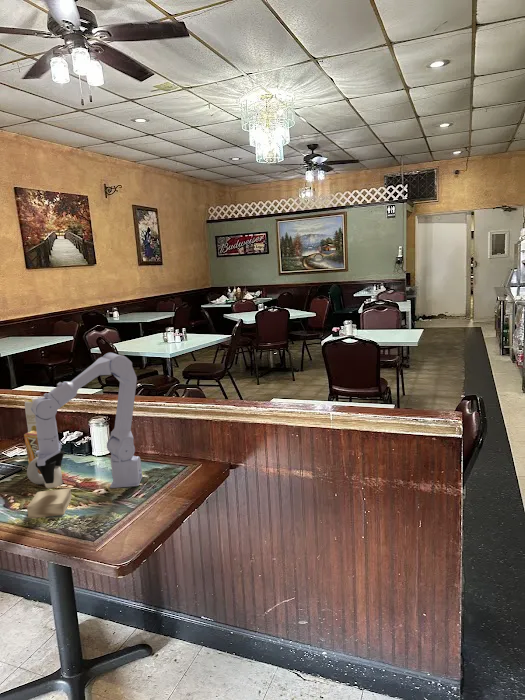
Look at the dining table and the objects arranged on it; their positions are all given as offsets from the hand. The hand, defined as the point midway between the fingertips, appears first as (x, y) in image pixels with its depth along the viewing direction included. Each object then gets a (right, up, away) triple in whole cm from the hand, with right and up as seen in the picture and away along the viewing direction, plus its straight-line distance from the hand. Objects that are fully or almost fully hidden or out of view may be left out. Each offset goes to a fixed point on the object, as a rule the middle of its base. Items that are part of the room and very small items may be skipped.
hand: (53, 478), depth 151 cm
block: (0, -9, -1) cm, 9 cm away
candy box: (-15, -5, +26) cm, 30 cm away
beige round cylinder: (0, -2, 0) cm, 2 cm away
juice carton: (-22, -2, +45) cm, 50 cm away
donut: (-10, -6, +18) cm, 21 cm away
